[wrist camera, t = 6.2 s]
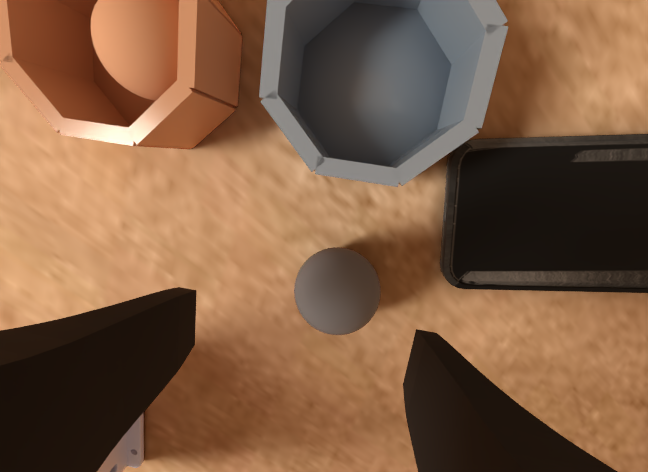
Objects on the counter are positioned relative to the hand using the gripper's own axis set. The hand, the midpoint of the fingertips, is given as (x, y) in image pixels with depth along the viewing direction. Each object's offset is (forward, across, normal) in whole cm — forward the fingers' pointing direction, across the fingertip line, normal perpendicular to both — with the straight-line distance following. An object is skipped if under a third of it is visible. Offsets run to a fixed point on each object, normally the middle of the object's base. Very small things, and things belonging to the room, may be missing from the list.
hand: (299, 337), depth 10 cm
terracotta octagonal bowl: (+8, +10, -9) cm, 16 cm away
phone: (+9, -13, -5) cm, 17 cm away
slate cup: (+8, -1, -9) cm, 12 cm away
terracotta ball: (+6, +9, -9) cm, 14 cm away
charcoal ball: (+6, -1, +1) cm, 6 cm away
